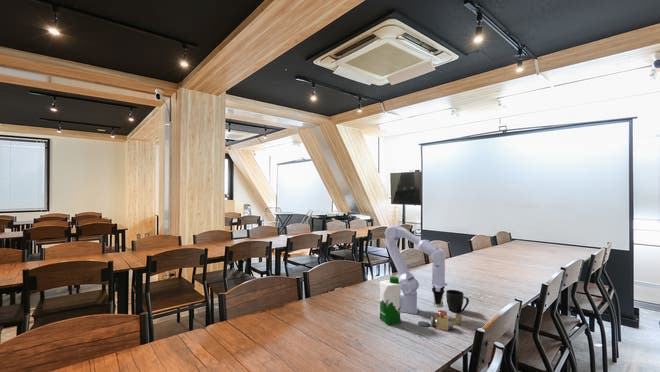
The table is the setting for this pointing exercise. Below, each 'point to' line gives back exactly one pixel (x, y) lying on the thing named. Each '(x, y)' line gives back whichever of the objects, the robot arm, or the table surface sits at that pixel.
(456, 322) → the elbow
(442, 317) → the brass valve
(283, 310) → the table surface
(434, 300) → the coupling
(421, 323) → the pad
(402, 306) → the robot arm
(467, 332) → the table surface
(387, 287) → the milk carton
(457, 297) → the mug
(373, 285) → the table surface
